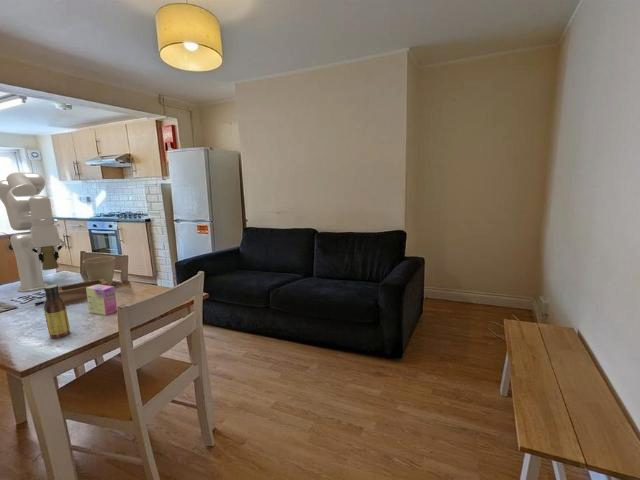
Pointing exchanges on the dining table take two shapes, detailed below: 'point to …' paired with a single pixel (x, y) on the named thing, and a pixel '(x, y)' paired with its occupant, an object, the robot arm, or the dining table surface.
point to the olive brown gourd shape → (48, 258)
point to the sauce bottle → (55, 313)
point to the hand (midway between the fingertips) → (49, 260)
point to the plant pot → (100, 268)
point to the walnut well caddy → (77, 291)
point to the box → (101, 299)
